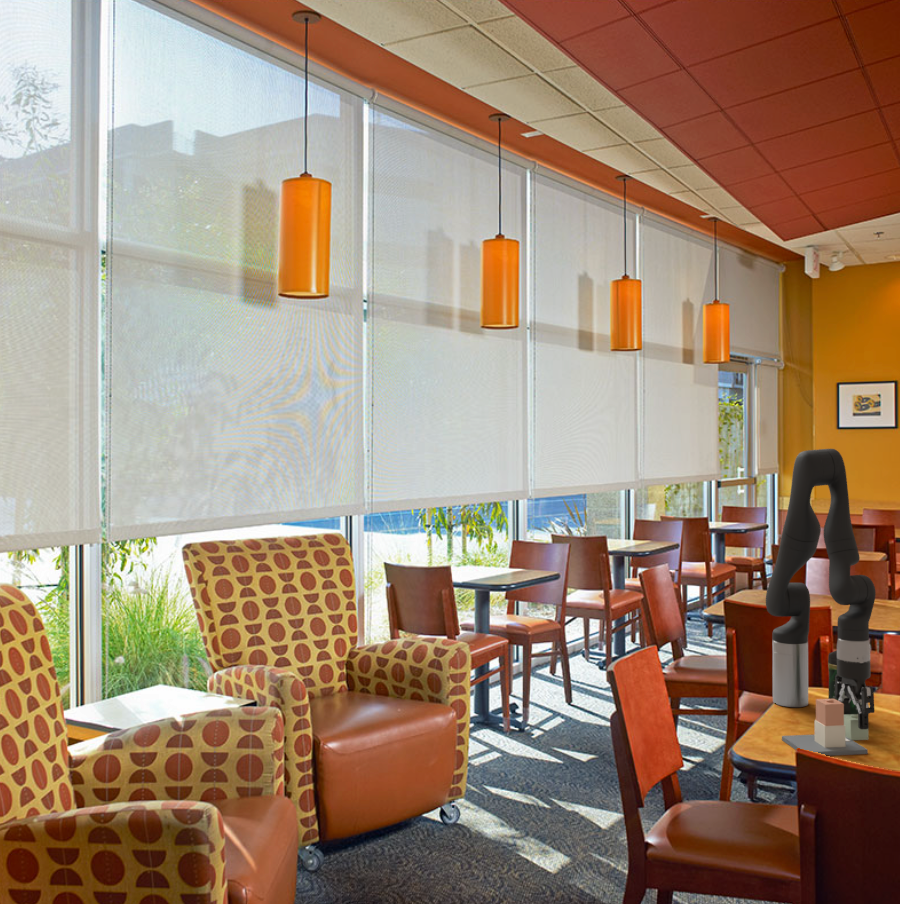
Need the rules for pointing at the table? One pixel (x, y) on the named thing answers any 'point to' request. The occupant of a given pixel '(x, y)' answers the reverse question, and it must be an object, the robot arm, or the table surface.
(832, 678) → the coffee jar
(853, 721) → the brick sage
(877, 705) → the table surface
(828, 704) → the brick terracotta
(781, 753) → the table surface
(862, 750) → the build board
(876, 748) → the table surface
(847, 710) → the robot arm
